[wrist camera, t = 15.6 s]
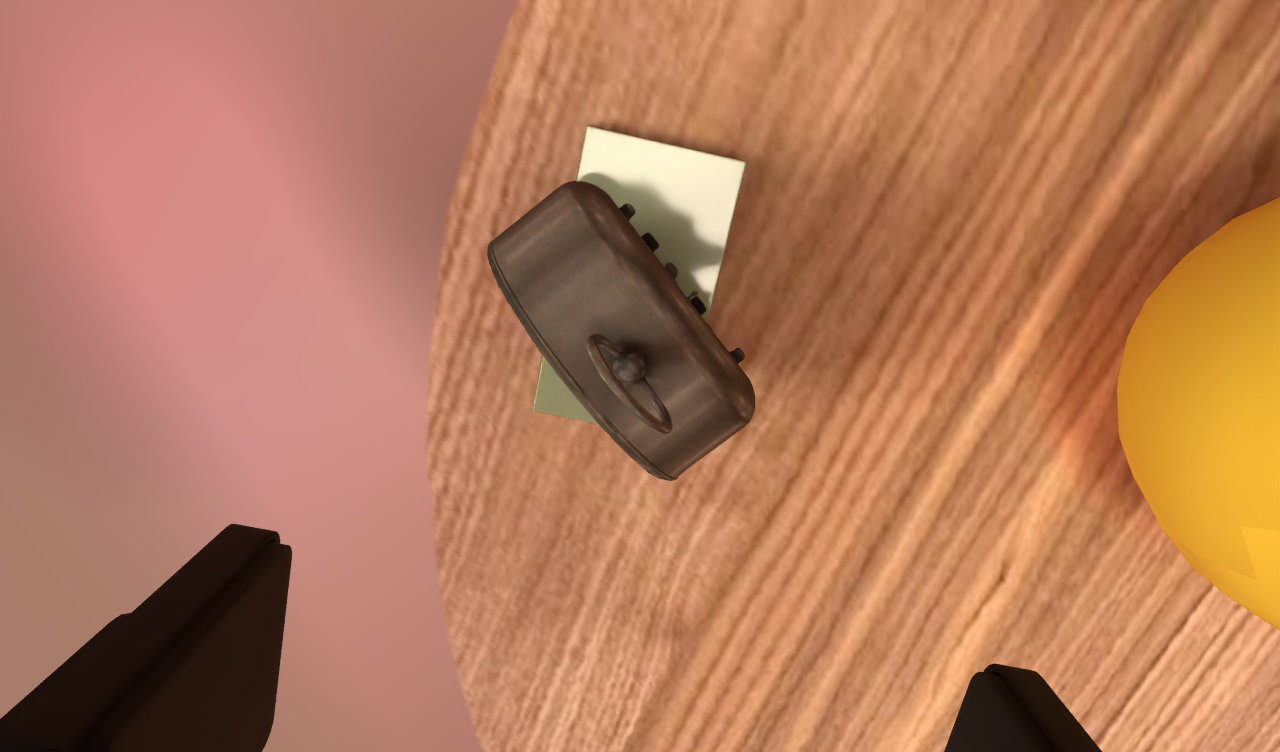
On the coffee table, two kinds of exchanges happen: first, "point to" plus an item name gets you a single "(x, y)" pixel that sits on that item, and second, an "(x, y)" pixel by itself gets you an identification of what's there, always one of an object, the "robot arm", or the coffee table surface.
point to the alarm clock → (621, 329)
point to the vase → (1213, 408)
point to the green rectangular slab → (658, 220)
